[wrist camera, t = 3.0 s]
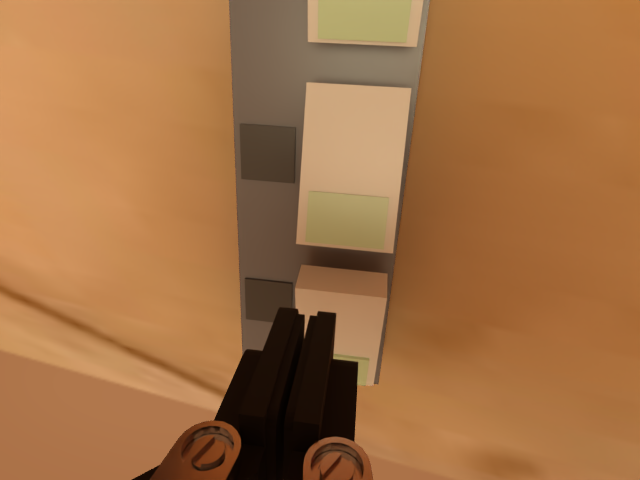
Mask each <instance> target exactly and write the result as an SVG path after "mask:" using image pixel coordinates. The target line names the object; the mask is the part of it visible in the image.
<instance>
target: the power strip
mask: <svg viewBox="0 0 640 480" xmlns="http://www.w3.org/2000/svg"><path fill="white" fill-rule="evenodd" d="M429 2H430V0H423V7H422V14H421V21H420V28H419V35H418V41H417V47H405V46H383V45H362V44H340V43H319V42H308V0H229V11H230V37H231V64H232V90H233V116H234V142H235V168H236V194H237V220H238V246H239V273H240V299H241V325H242V351H243V354H244V352H245V350H246V349H253V350H261V351H263V348H264V345H265V343H266V340H267V338H268V335H269V332H270V330H271V327H272V324H273V322H274V319H275V316H276V314H277V311H278V309H279V307H286V308H295V309H296V305H295V286H296V283H297V279H298V275H299V272H300V268H301V265H310V266H320V267H329V268H339V269H348V270H358V271H368V272H377V273H387V274H388V275H387V302H386V308H385V315H384V321H383V327H382V334H381V340H380V347H379V353H378V359H377V366H376V372H375V379H374V384H378V383H379V375H380V368H381V361H382V353H383V346H384V338H385V331H386V323H387V316H388V308H389V301H390V293H391V286H392V278H393V271H394V264H395V256H396V249H397V241H398V234H399V226H400V219H401V211H402V204H403V196H404V189H405V181H406V174H407V167H408V159H409V152H410V144H411V137H412V129H413V122H414V114H415V107H416V99H417V92H418V84H419V77H420V70H421V62H422V55H423V47H424V40H425V32H426V25H427V17H428V10H429ZM307 82H312V83H329V84H347V85H364V86H382V87H399V88H411V97H410V105H409V114H408V123H407V132H406V141H405V150H404V159H403V168H402V177H401V186H400V195H399V204H398V213H397V222H396V230H395V239H394V248H393V253H383V252H373V251H363V250H352V249H342V248H332V247H322V246H312V245H302V244H296V237H297V222H298V206H299V191H300V176H301V160H302V145H303V130H304V114H305V99H306V84H307Z"/></svg>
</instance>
